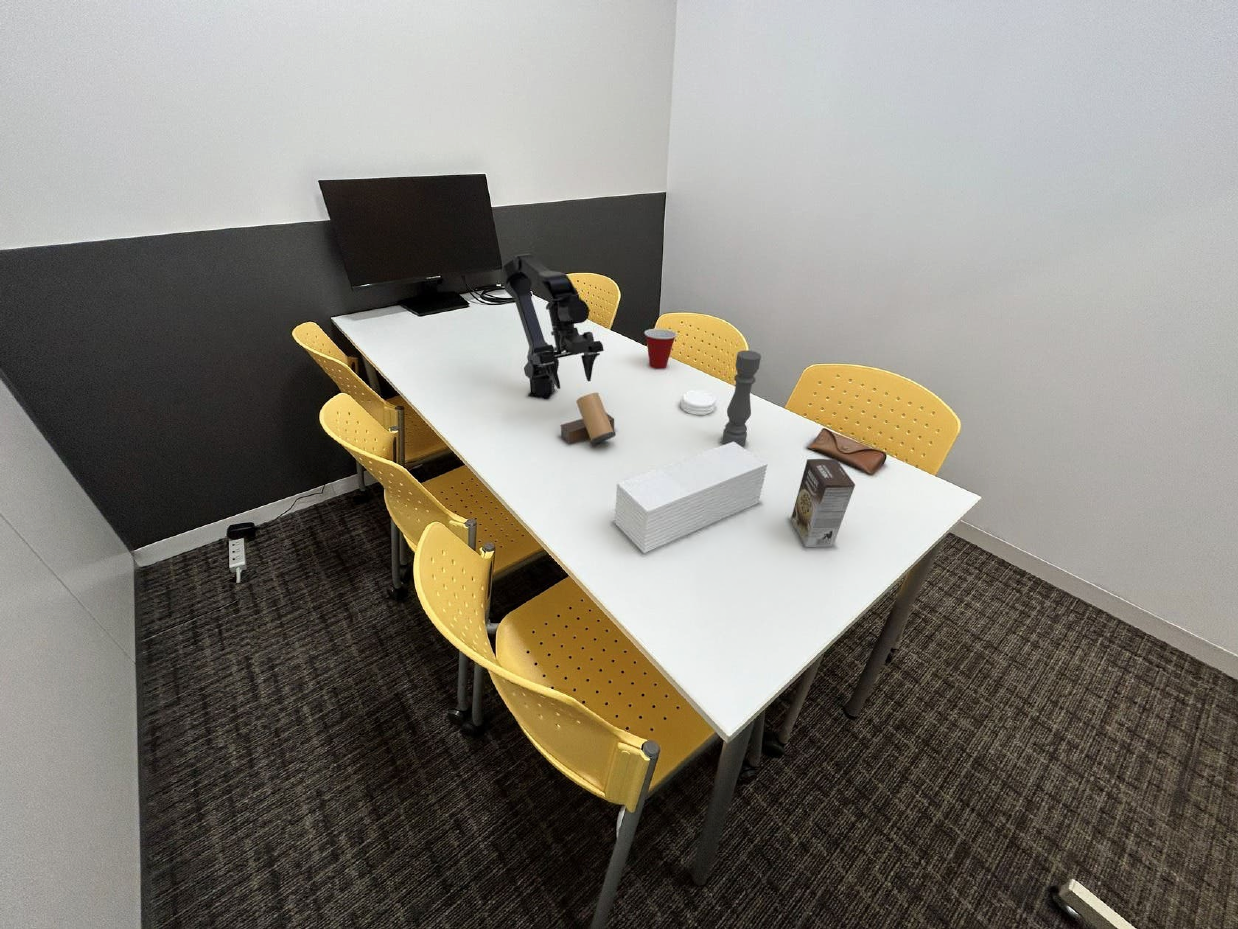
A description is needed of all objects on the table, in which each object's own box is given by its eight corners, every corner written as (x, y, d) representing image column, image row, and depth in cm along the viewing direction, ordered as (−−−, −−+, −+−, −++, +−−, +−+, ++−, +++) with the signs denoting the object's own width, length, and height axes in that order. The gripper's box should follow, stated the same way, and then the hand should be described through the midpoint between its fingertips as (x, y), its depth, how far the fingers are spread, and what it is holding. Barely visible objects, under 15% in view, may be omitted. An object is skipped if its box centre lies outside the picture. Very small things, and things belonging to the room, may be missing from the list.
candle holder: (746, 439, 144) (763, 352, 130) (743, 450, 139) (760, 361, 125) (723, 435, 146) (738, 348, 132) (719, 446, 141) (734, 357, 127)
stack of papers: (643, 553, 106) (647, 511, 100) (615, 523, 114) (616, 482, 108) (758, 503, 121) (767, 463, 115) (726, 479, 129) (733, 441, 122)
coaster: (673, 407, 158) (675, 396, 156) (693, 396, 164) (695, 386, 163) (701, 419, 153) (702, 408, 151) (720, 407, 159) (722, 397, 157)
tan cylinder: (572, 432, 144) (571, 389, 137) (593, 426, 147) (594, 383, 140) (596, 455, 135) (597, 410, 128) (619, 447, 139) (621, 403, 131)
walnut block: (560, 436, 142) (560, 424, 140) (605, 423, 149) (605, 411, 147) (569, 444, 139) (568, 432, 137) (614, 430, 146) (614, 418, 144)
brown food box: (789, 519, 117) (805, 458, 108) (817, 518, 117) (836, 457, 108) (804, 548, 109) (824, 484, 100) (834, 547, 110) (856, 484, 101)
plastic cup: (674, 360, 187) (677, 327, 181) (673, 373, 178) (677, 338, 172) (643, 358, 188) (645, 325, 181) (641, 370, 179) (643, 336, 172)
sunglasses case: (805, 447, 141) (816, 424, 140) (812, 450, 147) (823, 427, 146) (872, 475, 131) (885, 450, 130) (877, 477, 137) (889, 453, 136)
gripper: (543, 329, 127) (556, 394, 131) (609, 317, 136) (619, 378, 140) (525, 332, 136) (538, 392, 141) (588, 320, 145) (598, 377, 150)
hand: (574, 384), depth 143 cm, fingers open, 9 cm apart
